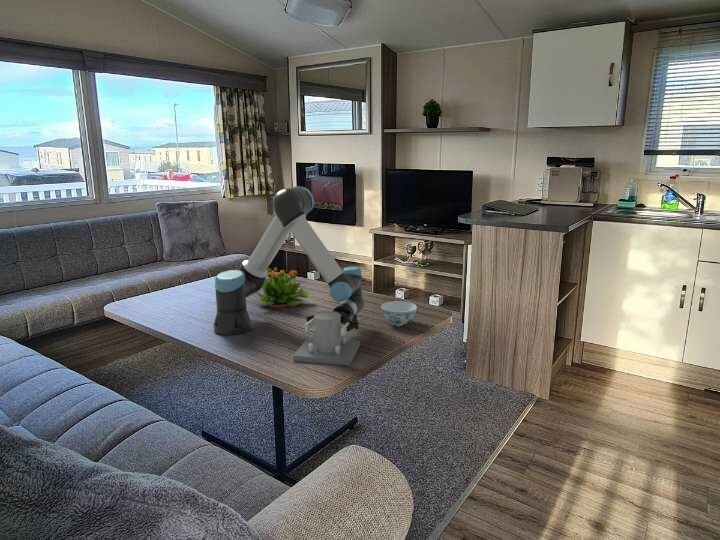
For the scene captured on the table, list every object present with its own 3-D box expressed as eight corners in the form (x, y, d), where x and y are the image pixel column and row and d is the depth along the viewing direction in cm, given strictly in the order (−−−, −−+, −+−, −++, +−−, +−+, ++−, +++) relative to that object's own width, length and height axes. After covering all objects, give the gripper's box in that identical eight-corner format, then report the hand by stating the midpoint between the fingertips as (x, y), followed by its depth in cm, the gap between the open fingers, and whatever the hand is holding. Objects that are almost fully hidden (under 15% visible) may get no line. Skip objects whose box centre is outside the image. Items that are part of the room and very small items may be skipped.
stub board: (293, 360, 172) (292, 347, 171) (308, 342, 189) (308, 329, 188) (349, 365, 168) (349, 351, 167) (359, 346, 185) (359, 333, 184)
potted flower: (275, 316, 219) (273, 278, 215) (240, 306, 233) (238, 270, 229) (313, 303, 238) (312, 268, 235) (279, 295, 252) (277, 261, 248)
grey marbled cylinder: (317, 354, 172) (316, 320, 170) (312, 344, 181) (311, 312, 179) (343, 351, 175) (343, 318, 172) (337, 341, 184) (337, 310, 181)
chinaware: (373, 323, 210) (373, 306, 208) (396, 315, 220) (397, 299, 218) (400, 332, 199) (400, 314, 198) (423, 323, 210) (424, 306, 208)
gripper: (375, 324, 190) (357, 344, 170) (315, 317, 198) (292, 335, 178) (375, 305, 188) (357, 323, 169) (315, 299, 196) (291, 316, 176)
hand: (323, 329), depth 173 cm, fingers open, 13 cm apart
